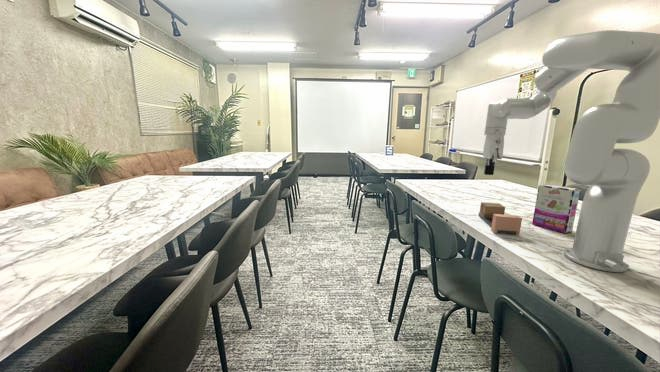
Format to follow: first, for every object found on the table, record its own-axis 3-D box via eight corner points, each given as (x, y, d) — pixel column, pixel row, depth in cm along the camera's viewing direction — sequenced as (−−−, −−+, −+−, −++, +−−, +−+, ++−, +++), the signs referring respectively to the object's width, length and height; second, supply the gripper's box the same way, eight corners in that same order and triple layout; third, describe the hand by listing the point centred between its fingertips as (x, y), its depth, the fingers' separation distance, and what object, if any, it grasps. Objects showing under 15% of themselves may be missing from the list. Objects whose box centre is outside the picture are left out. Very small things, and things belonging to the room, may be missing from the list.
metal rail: (515, 235, 91) (516, 231, 90) (496, 233, 92) (497, 229, 92) (493, 216, 112) (494, 213, 111) (478, 215, 113) (478, 212, 113)
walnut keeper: (503, 219, 103) (505, 207, 102) (484, 217, 105) (485, 205, 104) (497, 214, 109) (499, 203, 108) (479, 213, 110) (481, 202, 109)
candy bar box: (572, 232, 95) (581, 188, 92) (565, 234, 93) (574, 190, 90) (538, 222, 105) (545, 183, 102) (531, 224, 103) (538, 184, 100)
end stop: (519, 235, 90) (522, 218, 89) (493, 233, 92) (496, 216, 91) (515, 232, 93) (518, 215, 92) (490, 230, 95) (493, 213, 94)
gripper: (512, 132, 100) (505, 178, 104) (498, 132, 114) (492, 172, 118) (491, 131, 102) (484, 176, 106) (479, 131, 116) (474, 171, 120)
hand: (488, 174), depth 112 cm, fingers closed
